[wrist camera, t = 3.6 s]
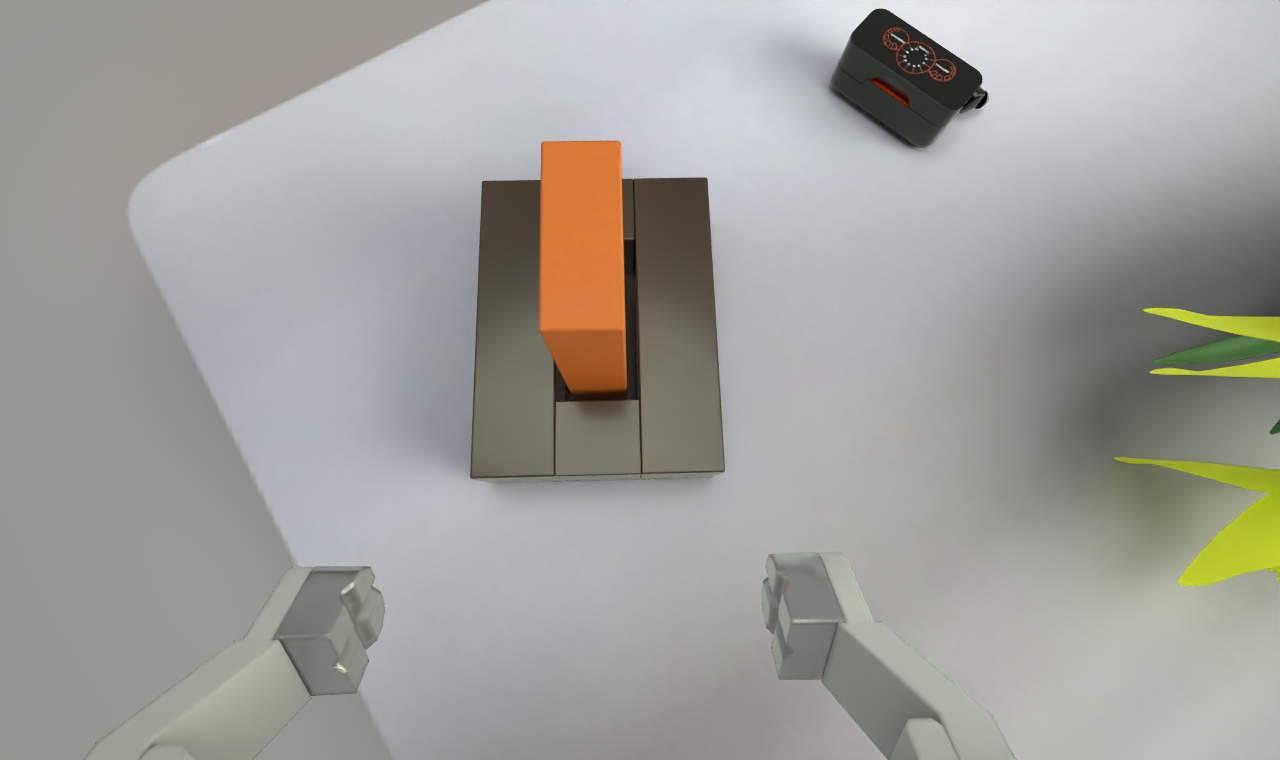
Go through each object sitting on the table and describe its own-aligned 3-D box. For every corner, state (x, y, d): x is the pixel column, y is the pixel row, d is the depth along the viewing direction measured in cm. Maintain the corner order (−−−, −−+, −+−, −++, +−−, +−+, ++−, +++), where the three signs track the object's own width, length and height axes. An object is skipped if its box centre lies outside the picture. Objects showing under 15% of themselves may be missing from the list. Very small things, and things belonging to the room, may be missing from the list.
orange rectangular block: (575, 404, 26) (537, 331, 16) (575, 283, 28) (540, 140, 17) (627, 403, 26) (624, 329, 16) (624, 282, 28) (620, 139, 17)
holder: (491, 483, 26) (469, 478, 22) (499, 219, 28) (481, 180, 25) (712, 477, 26) (725, 472, 22) (698, 216, 29) (707, 176, 25)
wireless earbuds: (934, 166, 29) (970, 124, 26) (823, 88, 30) (845, 39, 27) (982, 108, 30) (1023, 61, 27) (873, 34, 31) (900, -20, 28)
